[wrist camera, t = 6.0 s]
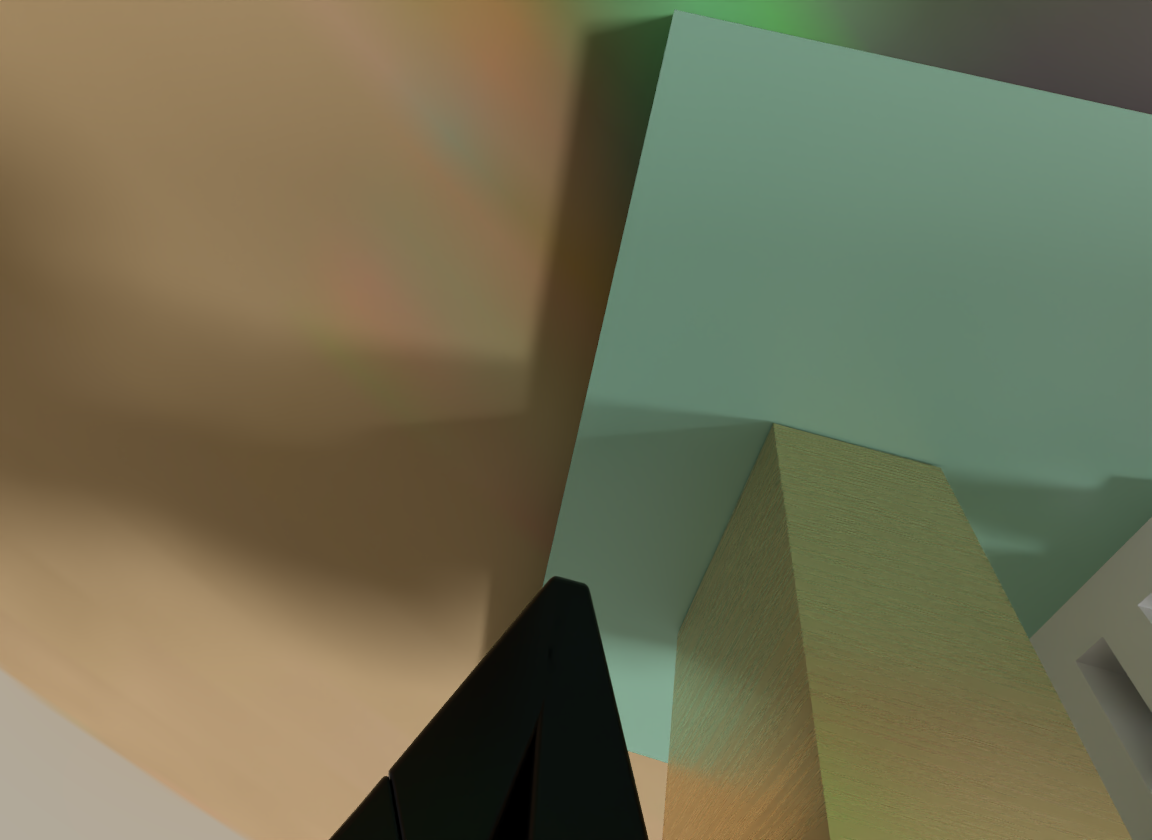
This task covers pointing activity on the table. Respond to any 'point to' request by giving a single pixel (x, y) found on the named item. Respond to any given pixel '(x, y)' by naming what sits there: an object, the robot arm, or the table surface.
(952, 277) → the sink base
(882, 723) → the block
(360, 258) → the table surface
